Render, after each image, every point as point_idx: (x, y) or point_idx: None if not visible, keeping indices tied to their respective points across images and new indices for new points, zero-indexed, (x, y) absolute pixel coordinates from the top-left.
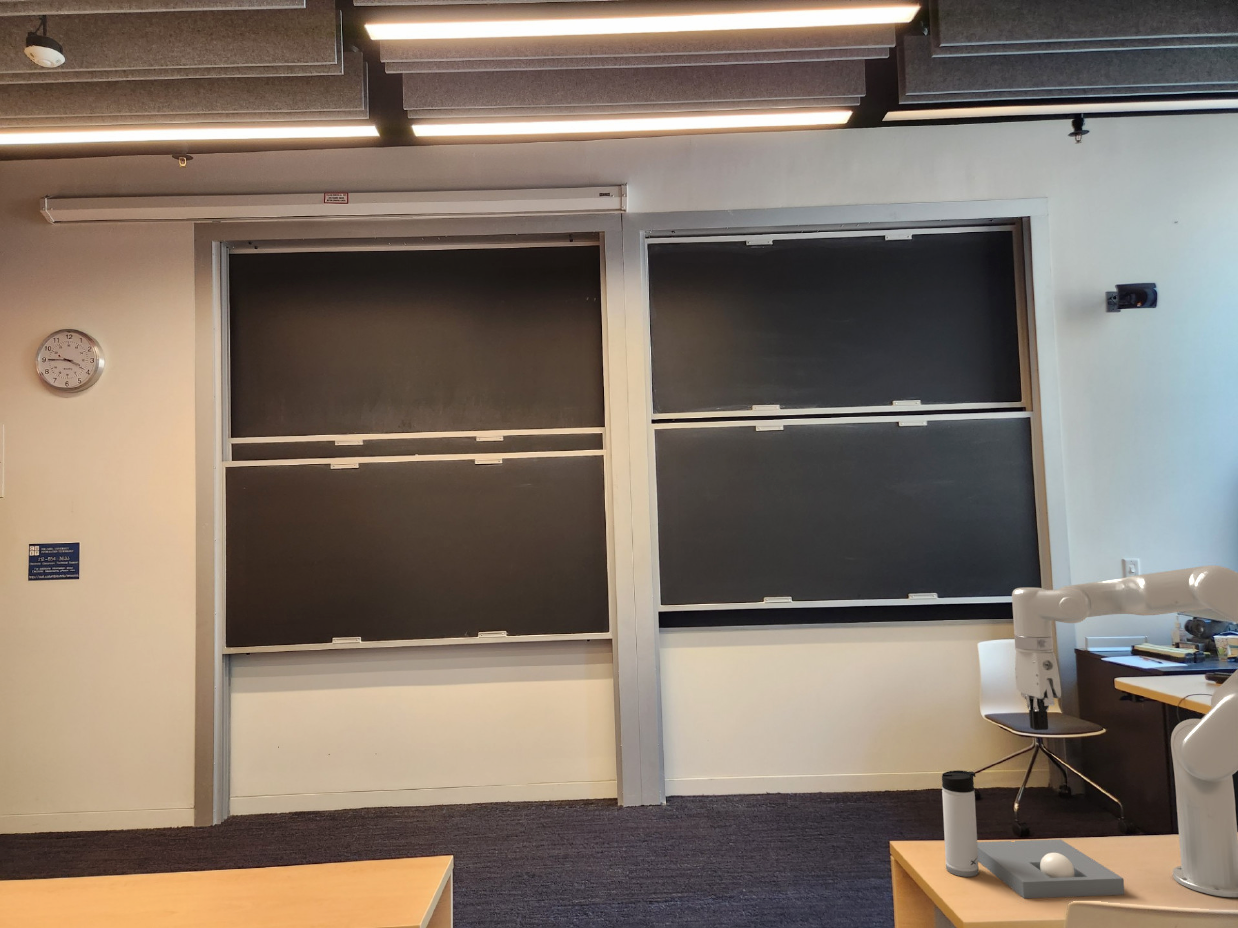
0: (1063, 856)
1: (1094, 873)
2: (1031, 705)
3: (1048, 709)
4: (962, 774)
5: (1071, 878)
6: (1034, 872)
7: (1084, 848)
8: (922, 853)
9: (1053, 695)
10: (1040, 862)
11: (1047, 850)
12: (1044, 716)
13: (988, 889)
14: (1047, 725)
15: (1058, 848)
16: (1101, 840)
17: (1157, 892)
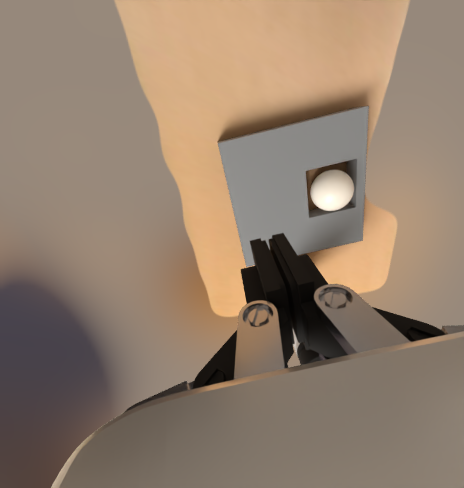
0: (344, 186)
1: (348, 144)
2: (286, 367)
3: (351, 290)
4: (319, 358)
5: (360, 182)
6: (339, 220)
7: (187, 92)
8: (241, 301)
9: (461, 346)
10: (323, 209)
11: (266, 181)
12: (322, 282)
13: (330, 260)
14: (287, 240)
15: (257, 161)
16: (136, 35)
17: (354, 46)
